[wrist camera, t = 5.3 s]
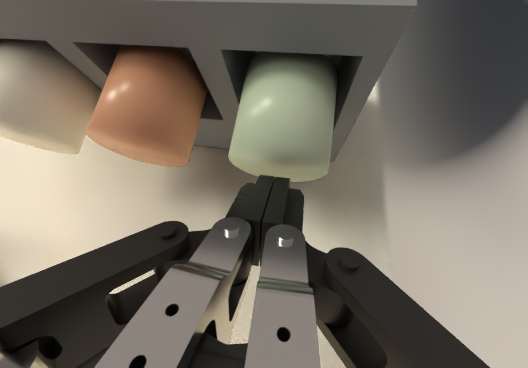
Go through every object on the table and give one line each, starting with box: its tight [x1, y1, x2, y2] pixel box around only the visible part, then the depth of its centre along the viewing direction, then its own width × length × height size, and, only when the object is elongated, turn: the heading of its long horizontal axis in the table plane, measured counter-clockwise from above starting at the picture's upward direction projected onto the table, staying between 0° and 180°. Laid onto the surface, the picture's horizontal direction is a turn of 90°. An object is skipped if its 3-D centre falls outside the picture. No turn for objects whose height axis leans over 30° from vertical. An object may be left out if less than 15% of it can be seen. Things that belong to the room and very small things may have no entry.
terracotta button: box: [86, 44, 208, 167], centre depth 13 cm, size 5×5×5 cm
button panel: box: [0, 0, 417, 161], centre depth 16 cm, size 7×23×13 cm, turn 81°
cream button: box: [0, 39, 102, 154], centre depth 14 cm, size 5×5×5 cm
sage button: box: [228, 51, 337, 182], centre depth 12 cm, size 5×5×5 cm
